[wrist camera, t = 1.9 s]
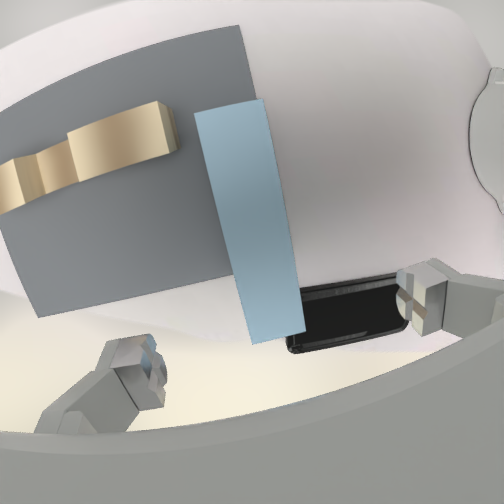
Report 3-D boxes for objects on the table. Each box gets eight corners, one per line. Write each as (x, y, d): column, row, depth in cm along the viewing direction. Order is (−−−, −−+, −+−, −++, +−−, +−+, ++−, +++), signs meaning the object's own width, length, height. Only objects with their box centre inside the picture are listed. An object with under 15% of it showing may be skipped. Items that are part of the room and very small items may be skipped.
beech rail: (171, 108, 24) (157, 100, 18) (181, 148, 26) (169, 153, 19) (5, 174, 24) (-38, 188, 17) (14, 206, 25) (-27, 227, 19)
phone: (284, 294, 31) (416, 272, 32) (282, 288, 32) (411, 268, 33) (287, 356, 34) (407, 330, 35) (285, 350, 35) (403, 326, 36)
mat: (238, 26, 23) (239, 24, 22) (288, 259, 31) (288, 261, 30) (-23, 128, 22) (-26, 128, 21) (39, 316, 30) (38, 317, 30)
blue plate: (244, 112, 25) (262, 98, 15) (275, 264, 30) (305, 331, 20) (202, 121, 25) (193, 113, 15) (239, 272, 30) (252, 344, 20)
